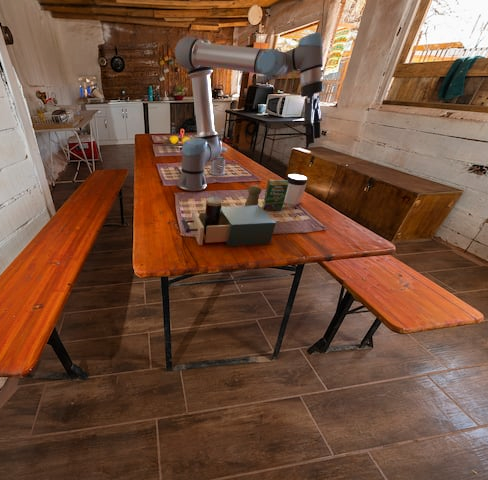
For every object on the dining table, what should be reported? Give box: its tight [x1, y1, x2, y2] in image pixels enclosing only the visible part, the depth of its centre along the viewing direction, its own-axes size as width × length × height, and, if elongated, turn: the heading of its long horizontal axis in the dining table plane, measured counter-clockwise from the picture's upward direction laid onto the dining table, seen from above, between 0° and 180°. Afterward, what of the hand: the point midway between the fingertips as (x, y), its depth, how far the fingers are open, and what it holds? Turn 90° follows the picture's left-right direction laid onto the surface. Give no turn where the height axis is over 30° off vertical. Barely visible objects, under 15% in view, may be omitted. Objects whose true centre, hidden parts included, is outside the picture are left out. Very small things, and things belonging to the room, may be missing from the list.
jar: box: [283, 173, 308, 206], centre depth 118 cm, size 9×8×12 cm
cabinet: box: [221, 204, 277, 247], centre depth 92 cm, size 16×14×9 cm
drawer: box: [181, 210, 230, 246], centre depth 91 cm, size 19×12×7 cm, turn 98°
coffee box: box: [262, 179, 289, 212], centre depth 111 cm, size 8×3×13 cm, turn 81°
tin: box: [204, 196, 223, 235], centre depth 89 cm, size 5×5×12 cm
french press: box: [208, 128, 228, 176], centre depth 149 cm, size 10×12×25 cm
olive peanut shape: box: [244, 184, 262, 206], centre depth 110 cm, size 6×6×11 cm
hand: (313, 140), depth 105 cm, fingers open, 13 cm apart
